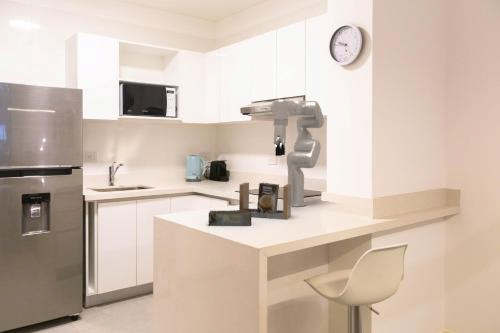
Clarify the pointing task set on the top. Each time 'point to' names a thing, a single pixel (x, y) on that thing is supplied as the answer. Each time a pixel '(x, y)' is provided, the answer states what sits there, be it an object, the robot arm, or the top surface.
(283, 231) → the top surface
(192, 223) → the top surface
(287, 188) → the wooden book rack
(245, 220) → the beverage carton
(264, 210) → the coffee box
